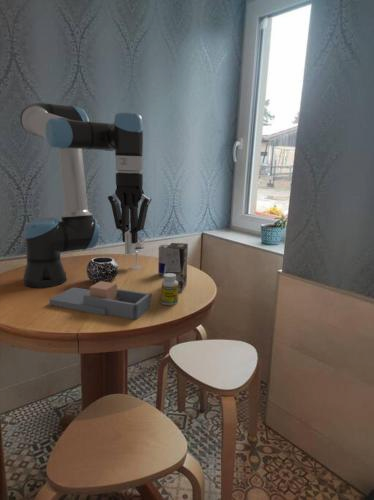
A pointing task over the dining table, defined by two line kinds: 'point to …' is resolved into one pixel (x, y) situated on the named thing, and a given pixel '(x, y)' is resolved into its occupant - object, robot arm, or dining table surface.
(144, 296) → the sliding lid box
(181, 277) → the coffee box
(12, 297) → the dining table surface
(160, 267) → the energy drink
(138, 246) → the wineglass
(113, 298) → the terracotta block
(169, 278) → the supplement bottle
